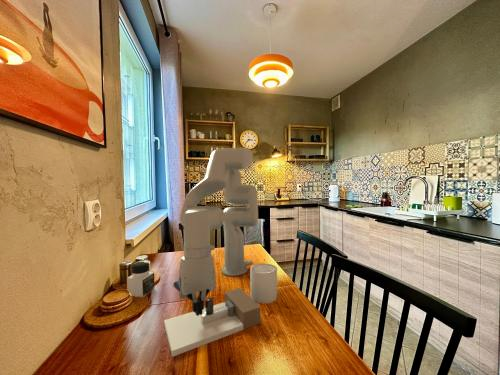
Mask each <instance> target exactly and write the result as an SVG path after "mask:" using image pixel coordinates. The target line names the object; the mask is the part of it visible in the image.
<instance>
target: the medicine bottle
mask: <svg viewBox="0 0 500 375" xmlns="http://www.w3.org/2000/svg"><path fill="white" fill-rule="evenodd" d="M131 269H132V271H131V272H132V274H131V275H130V276H128V277H127V278H126V286H127V288H126V291H129V292H130V293H131V295H132V296H131V297H133V296H134V297H136V298H144V297H146V296H147V295H148V294H150V293H151V292H152V291H154V290H155V287H156V286H155V272H154V271H150V262H149V261H146V260H140V261H137V262H134V263H133V264H132V268H131Z"/></svg>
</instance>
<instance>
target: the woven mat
mask: <svg viewBox="0 0 500 375" xmlns="http://www.w3.org/2000/svg"><path fill="white" fill-rule="evenodd" d="M172 286H174V287H175V288H176V290H178V291H179V292H180V288H179V280H175V281H174V282H173V283H172Z"/></svg>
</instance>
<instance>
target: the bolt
mask: <svg viewBox="0 0 500 375" xmlns="http://www.w3.org/2000/svg"><path fill="white" fill-rule="evenodd" d="M204 304H205V305H204V308H205V311H206V312H204V313H202V315H201V322H202V324H203V323H206V322H209V321H212V320H215V319H218V318H221V317H224V316H227V315H229V307H228V306H227V305H226V306H223V307H220V308H217V309H214V310H213V305H214V298H213V297H207V298H205V300H204ZM234 314H235V306H234Z"/></svg>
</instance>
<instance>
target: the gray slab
mask: <svg viewBox="0 0 500 375" xmlns="http://www.w3.org/2000/svg"><path fill="white" fill-rule="evenodd" d="M226 305H227V306H228V307H229V315H227V316H224V317H221V318H218V319H215V320H212V321H209V322H206V323H203V324H202V322H201V315H200V314H199V316H197V315H196V313H195V312H193V311H191V312H187V313H184V314H181V315H178V316H174V317H170V318H167V319H164V320H163V326H164V330H165V334H166V337H167V338H166V339H167V343H168V346H169V349H170V355H171V357H172V358H174V357H176V356H178V355H181V354H184V353H186V352H189V351H191V350H194V349H196V348H199V347H202V346H204V345H207V344H209V343H212V342H215V341H217V340H221V339H222V338H225V337H228V336H231V335H233V334H235V333H236V334H237V333H238V332H241V331H243V330H246V329H248V328H252V327H254V326H257V325H259V324H261V306H260V305H259V303H258V302H255V301H253V300H252V299H251V297H250V296H249V295H248V294H247V293H246V292H245V291H244V290H242V288H241V287H239V288H235V289H231V290H228V291H224V302H220V303H217V304H213V310H214V309H217V308H220V307H223V306H226ZM234 306H235V313H234ZM204 312H206V311H205V307H204V309H203V310H202V313H204Z"/></svg>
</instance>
